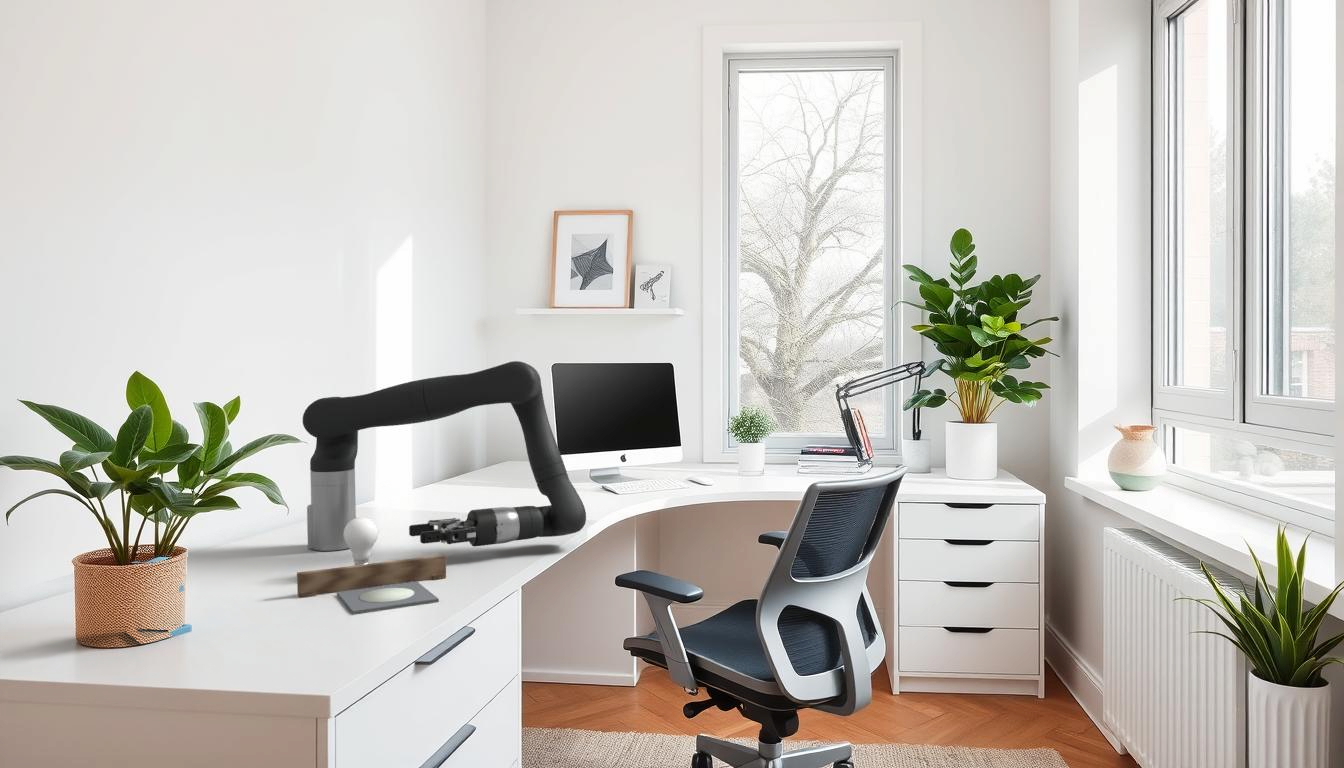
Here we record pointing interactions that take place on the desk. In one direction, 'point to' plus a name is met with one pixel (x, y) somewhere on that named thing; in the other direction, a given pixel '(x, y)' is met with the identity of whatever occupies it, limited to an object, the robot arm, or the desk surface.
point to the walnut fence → (370, 575)
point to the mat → (386, 597)
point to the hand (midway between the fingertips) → (415, 534)
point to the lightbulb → (360, 538)
